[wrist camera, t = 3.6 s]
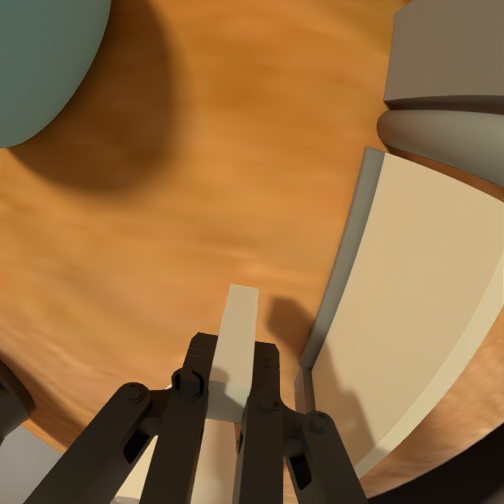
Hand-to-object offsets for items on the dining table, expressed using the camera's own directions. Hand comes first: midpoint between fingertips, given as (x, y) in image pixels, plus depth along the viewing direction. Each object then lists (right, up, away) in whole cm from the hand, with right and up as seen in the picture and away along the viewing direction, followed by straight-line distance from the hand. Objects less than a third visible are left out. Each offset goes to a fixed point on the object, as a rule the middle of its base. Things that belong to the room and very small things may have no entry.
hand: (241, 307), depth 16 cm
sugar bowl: (-14, +18, -4) cm, 23 cm away
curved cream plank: (+8, +1, +1) cm, 8 cm away
